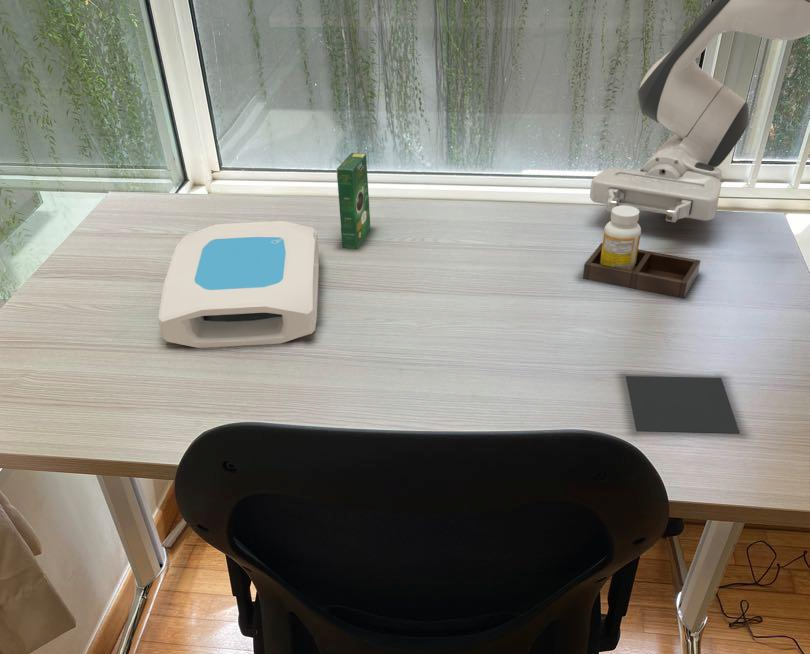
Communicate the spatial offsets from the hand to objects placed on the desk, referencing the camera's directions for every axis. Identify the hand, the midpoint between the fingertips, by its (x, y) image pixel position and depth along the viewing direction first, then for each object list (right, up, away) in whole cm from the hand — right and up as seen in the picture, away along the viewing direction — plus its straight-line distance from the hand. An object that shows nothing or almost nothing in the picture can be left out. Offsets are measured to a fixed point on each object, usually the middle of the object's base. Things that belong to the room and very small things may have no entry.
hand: (640, 211), depth 135 cm
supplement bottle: (-4, -10, -1) cm, 11 cm away
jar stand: (-1, -11, -3) cm, 12 cm away
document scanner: (-60, -15, -4) cm, 62 cm away
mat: (-3, -34, -27) cm, 44 cm away
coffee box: (-45, -1, +11) cm, 46 cm away
